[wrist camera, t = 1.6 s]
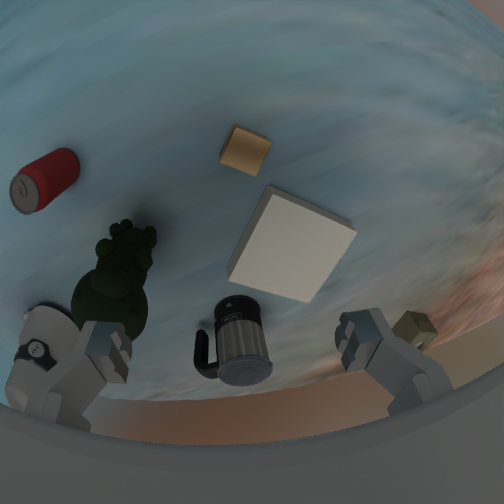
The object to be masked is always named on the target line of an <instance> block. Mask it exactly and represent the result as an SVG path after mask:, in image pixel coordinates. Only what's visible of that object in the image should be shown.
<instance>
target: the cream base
mask: <svg viewBox="0 0 504 504" xmlns="http://www.w3.org/2000/svg"><path fill="white" fill-rule="evenodd" d="M357 233H358V232H357V231H356V230H355V229H354V227H353V226H352V225H351V224H350V223H349V222H348V221H346V220H344V219H342V218H340V217H338V216H336V215H334V214H332V213H330V212H328V211H325V210H323V209H321V208H319V207H317V206H315V205H313V204H310V203H308V202H306V201H304V200H302V199H299V198H297V197H295V196H293V195H290V194H288V193H286V192H283V191H281V190H279V189H276V188H274V187H272V186H269V185H268V186H267V188H266V190H265V191H264V193H263V195H262V197H261V199H260V201H259V203H258V205H257V207H256V209H255V211H254V213H253V215H252V217H251V219H250V221H249V223H248V225H247V227H246V229H245V231H244V233H243V235H242V237H241V239H240V241H239V243H238V245H237V247H236V249H235V251H234V253H233V255H232V257H231V259H230V261H229V263H228V265H227V274H228V281H231V282H234V283H237V284H241V285H244V286H248V287H251V288H255V289H258V290H262V291H265V292H269V293H273V294H276V295H280V296H284V297H287V298H291V299H295V300H298V301H302V302H306V303H310V301H311V300H312V299H313V297H314V296H315V294H316V293H317V292H318V290H319V289H320V287H321V286H322V285H323V283H324V282H325V280H326V279H327V278H328V276H329V275H330V273H331V272H332V270H333V269H334V268H335V266H336V265H337V263H338V262H339V260H340V259H341V257H342V256H343V254H344V253H345V251H346V250H347V248H348V247H349V245H350V244H351V242H352V241H353V239H354V238H355V236H356V235H357Z"/></svg>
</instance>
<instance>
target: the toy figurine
mask: <svg viewBox="0 0 504 504" xmlns="http://www.w3.org/2000/svg"><path fill="white" fill-rule="evenodd" d="M109 230H110V235H111V236H112V237H113V238H112V240H109V239H106V238H105V239H102V240H100V241H99V242H98V243H97V245H96V249H95V251H96V255H97V256H98V261H97V265H96V269H94V270H91V271H90V272H88V273H87V274H86V275H84V276H83V277H82V278H81V279H80V281H79V282H78V284H77V286H76V288H75V290H74V293H73V296H72V300H71V312H72V316H73V319H74V321H75V324H76V326H77V328H78V329H79V331H80V332H81V330H82V328H83V325H84V323H85V322H86V321H102V322H116V323H123V325H124V327H125V333H124V334H126V335H127V336H128V337H129V338H130V340H131V342H132V341H133V340H135V339H136V338H137V337H138V336H139V335H140V334H141V332H142V331H143V329H144V327H145V324H146V320H147V316H148V303H147V298H146V295H145V292H144V290H143V288H142V287H143V285H144V283H145V280H146V277H147V271H148V270H149V268H150V267H151V265H152V264H153V261H152V257H151V251H152V250H151V248H153V247H154V246H155V245H156V243H157V239H156V229H155V228H154V227H151V226H147V227H146V228H145V229H144V230H143V231H142V230H141V229H139V228H134V227H133V224H132V221H131V220H128V219H124V220H122V221H121V223H120V224H118V223H114V224H112V225H111V226H110V228H109Z"/></svg>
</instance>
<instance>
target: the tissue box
mask: <svg viewBox="0 0 504 504" xmlns="http://www.w3.org/2000/svg"><path fill="white" fill-rule="evenodd" d="M392 332H393V333H394V335H395V337H400V338H401V339H403V340H404V341H406V342H407V343H409V344H410V345H412V346H413V347H415V348H416V349H418V350H419V351H421V352H422V351H423V350H424V349H425V348H426V347H427V346H428V345H429V344H430V343H431V342H432V341H433V339H434V338H435V337H436V336H437V335H438V332H437V330H436V329H435V328H434V326H433V325H432V323H431V322H430V320H429V319H428V318H427V316H426V315H425V314H420V313H415V312H409V311H406V312H405V314H404V315H403V316H402V317H401V319H400V320H399V321H398V322H397V324H396V325H395V326H394V327H393V328H392ZM422 353H423V352H422ZM424 354H425V353H424ZM427 356H428V355H427ZM429 357H430V356H429ZM430 358H431V357H430Z"/></svg>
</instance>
